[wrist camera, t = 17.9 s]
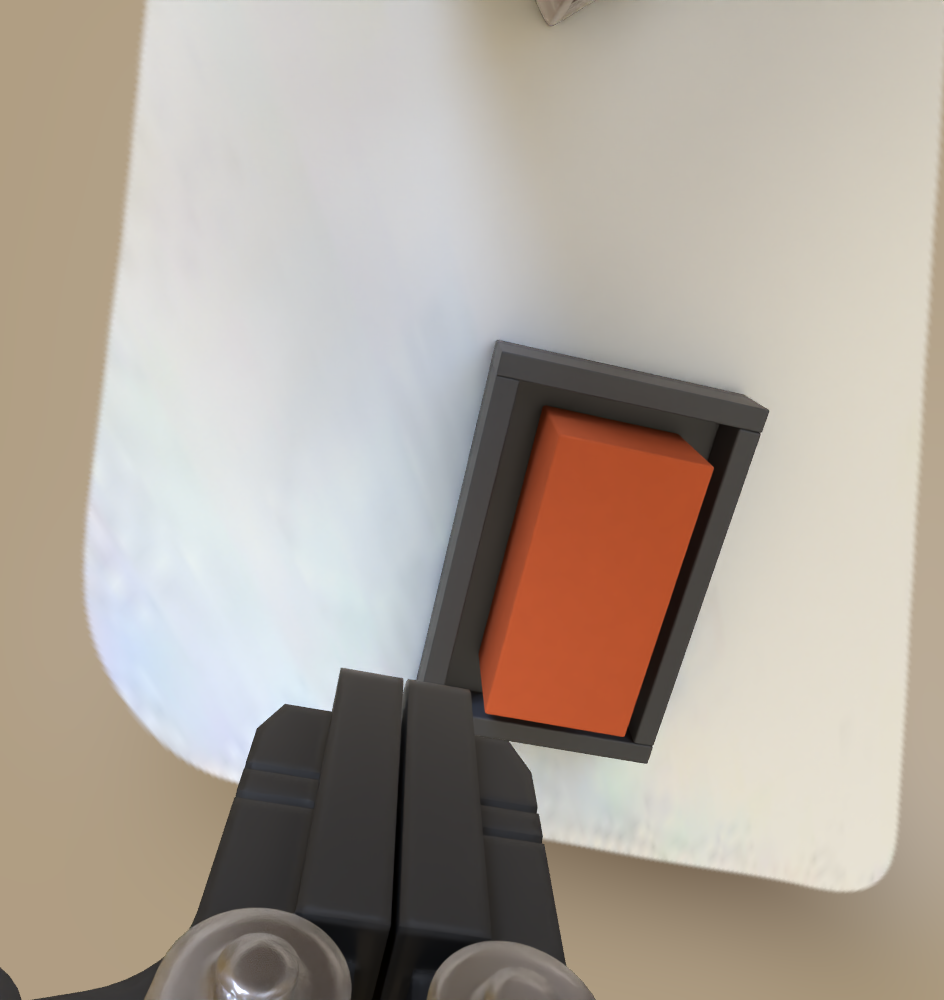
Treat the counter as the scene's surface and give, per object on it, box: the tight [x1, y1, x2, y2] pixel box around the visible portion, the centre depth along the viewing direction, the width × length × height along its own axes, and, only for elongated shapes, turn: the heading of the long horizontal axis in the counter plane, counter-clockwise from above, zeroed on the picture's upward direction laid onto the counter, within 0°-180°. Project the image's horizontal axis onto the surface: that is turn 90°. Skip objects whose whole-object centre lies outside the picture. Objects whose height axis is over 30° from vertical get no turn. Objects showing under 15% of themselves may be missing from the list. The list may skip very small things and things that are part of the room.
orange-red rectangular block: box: [479, 406, 714, 737], centre depth 30 cm, size 10×5×4 cm, turn 167°
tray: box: [417, 340, 769, 764], centre depth 31 cm, size 14×9×2 cm, turn 167°
